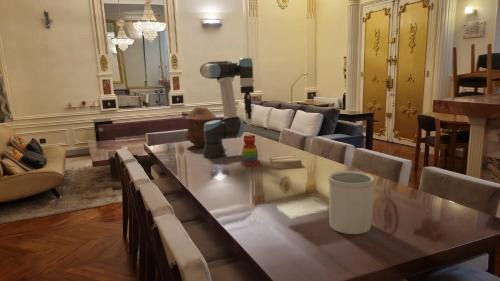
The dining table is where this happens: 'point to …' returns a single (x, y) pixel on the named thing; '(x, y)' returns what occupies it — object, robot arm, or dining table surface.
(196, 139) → the pottery vessel
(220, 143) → the robot arm
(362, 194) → the utensil holder
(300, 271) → the dining table surface
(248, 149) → the stacking bear
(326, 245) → the dining table surface
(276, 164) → the maple block
